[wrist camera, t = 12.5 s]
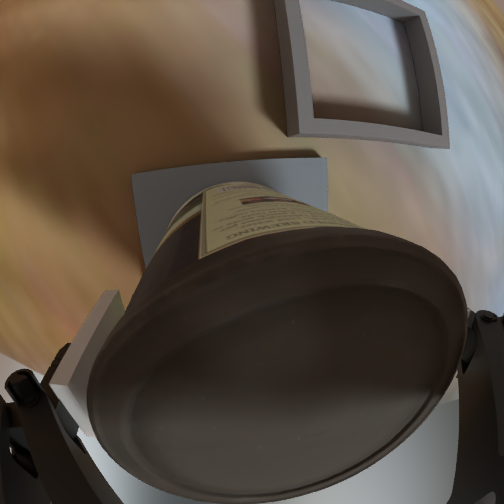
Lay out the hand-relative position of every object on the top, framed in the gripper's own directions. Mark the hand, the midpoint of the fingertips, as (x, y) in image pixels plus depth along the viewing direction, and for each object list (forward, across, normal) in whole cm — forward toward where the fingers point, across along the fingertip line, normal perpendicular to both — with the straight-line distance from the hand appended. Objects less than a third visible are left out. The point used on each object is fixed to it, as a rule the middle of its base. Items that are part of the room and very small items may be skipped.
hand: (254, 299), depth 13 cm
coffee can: (+6, 0, 0) cm, 6 cm away
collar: (+7, +11, +15) cm, 20 cm away
